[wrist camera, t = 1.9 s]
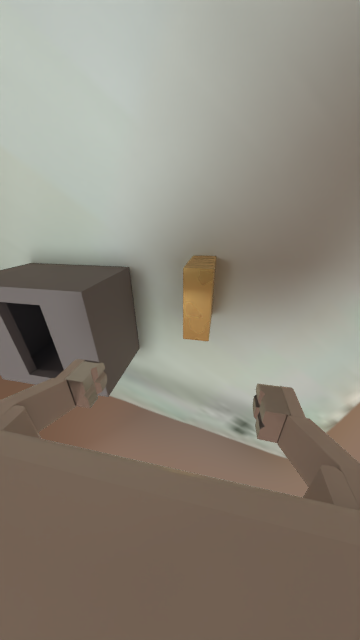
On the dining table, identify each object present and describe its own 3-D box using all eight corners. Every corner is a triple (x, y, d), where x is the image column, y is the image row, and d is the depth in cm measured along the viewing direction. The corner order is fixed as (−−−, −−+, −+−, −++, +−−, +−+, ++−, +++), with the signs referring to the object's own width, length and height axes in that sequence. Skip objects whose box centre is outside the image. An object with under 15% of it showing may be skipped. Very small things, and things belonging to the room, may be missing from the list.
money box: (30, 263, 26) (-54, 283, 18) (128, 267, 23) (81, 292, 16) (57, 338, 31) (3, 378, 24) (139, 348, 29) (108, 396, 21)
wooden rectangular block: (193, 255, 21) (183, 267, 16) (216, 256, 21) (213, 269, 16) (191, 312, 25) (183, 338, 19) (211, 314, 24) (208, 341, 19)
